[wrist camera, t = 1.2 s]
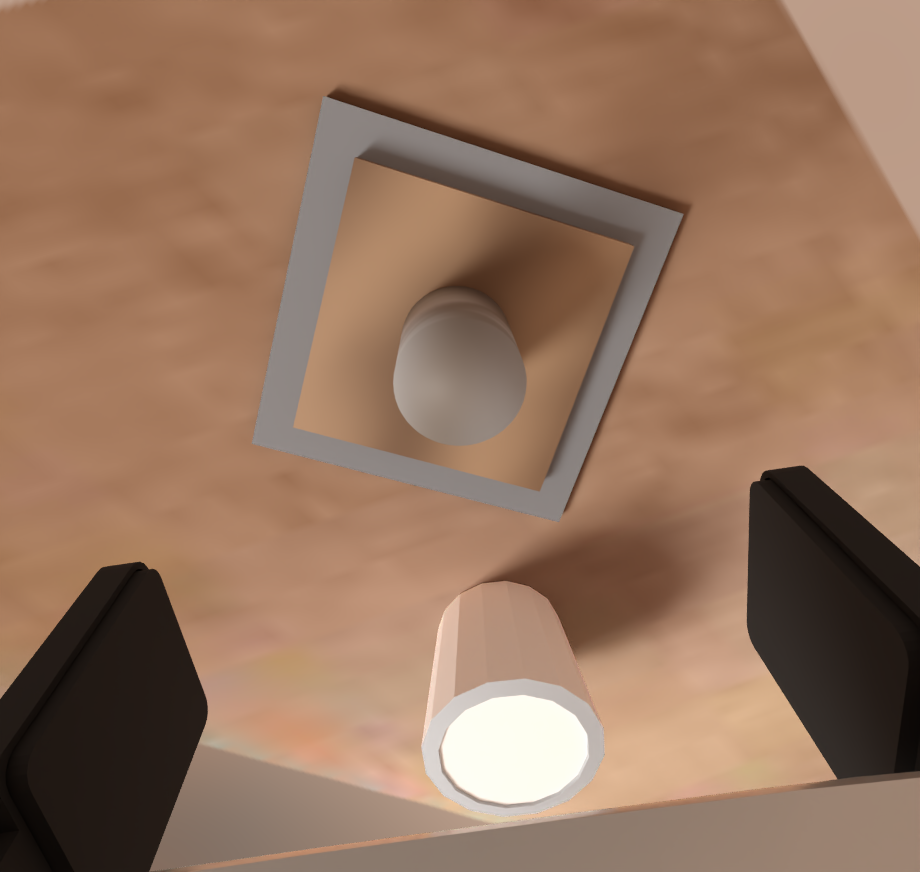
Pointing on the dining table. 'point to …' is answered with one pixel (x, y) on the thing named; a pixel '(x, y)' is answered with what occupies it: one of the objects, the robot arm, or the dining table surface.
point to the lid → (455, 326)
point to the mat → (483, 175)
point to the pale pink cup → (508, 705)
